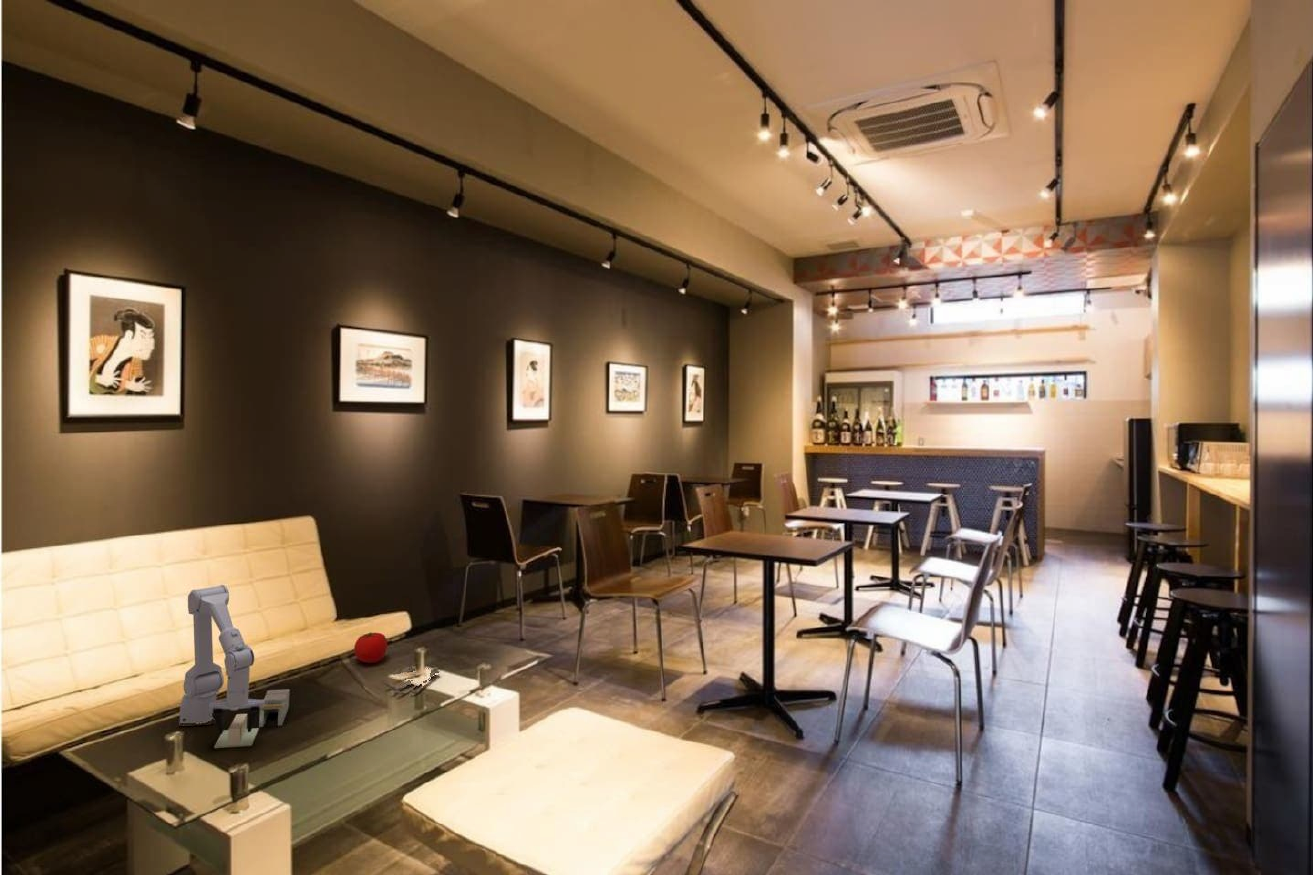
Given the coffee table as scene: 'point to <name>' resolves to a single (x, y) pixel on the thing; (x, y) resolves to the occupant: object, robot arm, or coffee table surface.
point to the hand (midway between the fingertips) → (235, 731)
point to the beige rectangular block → (237, 729)
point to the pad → (245, 741)
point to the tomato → (370, 647)
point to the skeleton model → (408, 669)
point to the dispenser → (275, 705)
